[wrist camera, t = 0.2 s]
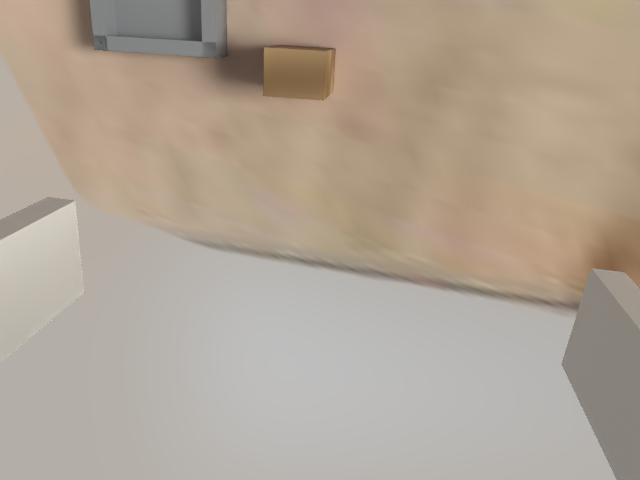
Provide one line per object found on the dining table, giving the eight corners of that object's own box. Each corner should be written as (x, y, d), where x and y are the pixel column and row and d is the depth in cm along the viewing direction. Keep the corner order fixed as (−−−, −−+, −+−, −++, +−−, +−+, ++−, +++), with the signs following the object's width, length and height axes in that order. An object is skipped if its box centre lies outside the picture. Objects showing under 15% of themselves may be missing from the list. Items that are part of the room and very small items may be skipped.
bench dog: (280, 45, 38) (264, 47, 33) (335, 48, 38) (326, 51, 33) (279, 88, 39) (263, 95, 35) (333, 92, 39) (323, 100, 34)
